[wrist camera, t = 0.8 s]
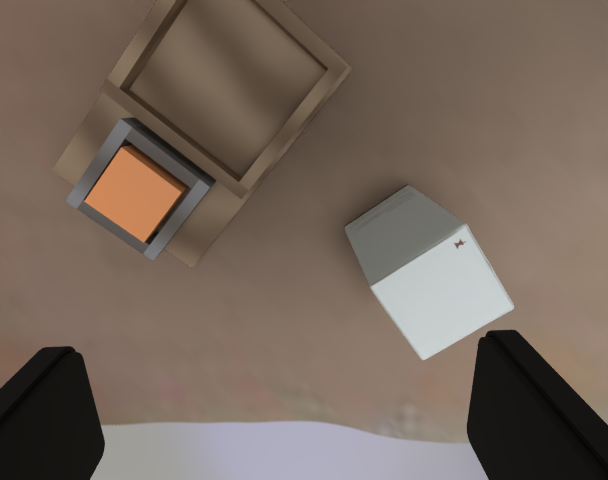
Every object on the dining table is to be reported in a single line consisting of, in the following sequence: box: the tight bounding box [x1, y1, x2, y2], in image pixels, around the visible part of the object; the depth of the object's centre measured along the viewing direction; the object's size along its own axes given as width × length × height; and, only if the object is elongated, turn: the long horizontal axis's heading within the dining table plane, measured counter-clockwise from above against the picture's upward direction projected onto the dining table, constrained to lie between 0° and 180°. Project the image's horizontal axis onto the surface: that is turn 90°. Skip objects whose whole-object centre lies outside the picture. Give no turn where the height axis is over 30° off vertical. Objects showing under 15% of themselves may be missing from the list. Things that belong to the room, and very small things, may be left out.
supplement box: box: [344, 185, 514, 360], centre depth 31 cm, size 7×7×13 cm
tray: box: [52, 0, 353, 268], centre depth 31 cm, size 22×14×4 cm, turn 140°
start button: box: [84, 145, 189, 243], centre depth 31 cm, size 5×5×2 cm
